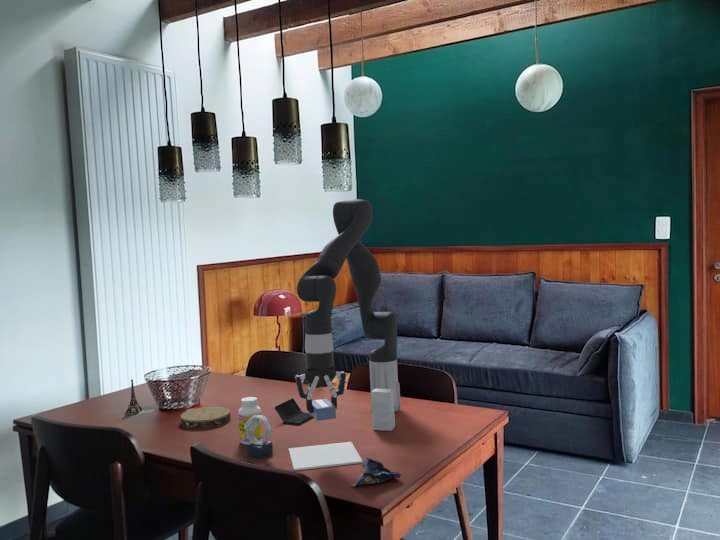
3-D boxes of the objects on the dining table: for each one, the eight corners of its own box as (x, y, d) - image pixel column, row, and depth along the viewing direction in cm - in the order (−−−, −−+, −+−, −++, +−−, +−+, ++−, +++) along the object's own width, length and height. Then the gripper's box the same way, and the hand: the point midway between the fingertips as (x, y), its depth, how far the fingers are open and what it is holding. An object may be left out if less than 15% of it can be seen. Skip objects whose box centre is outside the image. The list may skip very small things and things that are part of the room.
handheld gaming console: (305, 421, 202) (287, 395, 205) (288, 434, 204) (271, 408, 206) (318, 415, 213) (302, 391, 215) (302, 428, 214) (286, 403, 217)
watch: (255, 449, 182) (253, 411, 181) (277, 453, 178) (275, 414, 177) (242, 455, 177) (240, 416, 177) (264, 460, 173) (262, 420, 172)
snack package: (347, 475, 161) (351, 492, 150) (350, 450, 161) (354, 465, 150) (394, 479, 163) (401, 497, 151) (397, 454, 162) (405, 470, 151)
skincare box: (395, 427, 197) (393, 388, 196) (391, 431, 193) (389, 392, 192) (376, 426, 199) (375, 387, 198) (372, 430, 195) (370, 391, 194)
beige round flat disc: (237, 423, 209) (236, 414, 209) (188, 433, 201) (188, 423, 201) (221, 412, 223) (221, 403, 222) (175, 421, 215) (174, 412, 214)
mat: (351, 443, 184) (351, 441, 184) (362, 462, 168) (362, 461, 168) (288, 450, 180) (288, 448, 180) (294, 470, 165) (293, 468, 164)
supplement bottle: (235, 442, 189) (232, 399, 188) (252, 436, 194) (250, 394, 193) (250, 447, 184) (247, 403, 184) (267, 440, 189) (265, 397, 189)
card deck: (336, 418, 170) (335, 406, 170) (317, 420, 168) (316, 408, 168) (326, 409, 178) (326, 398, 178) (308, 412, 177) (308, 400, 177)
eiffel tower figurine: (120, 421, 217) (117, 383, 216) (107, 416, 224) (104, 379, 223) (161, 411, 228) (158, 374, 227) (147, 406, 235) (145, 370, 234)
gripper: (293, 354, 167) (296, 418, 168) (348, 350, 170) (350, 412, 171) (291, 349, 175) (294, 410, 176) (343, 345, 177) (345, 405, 178)
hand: (322, 411), depth 173 cm, fingers closed on card deck, 5 cm apart
